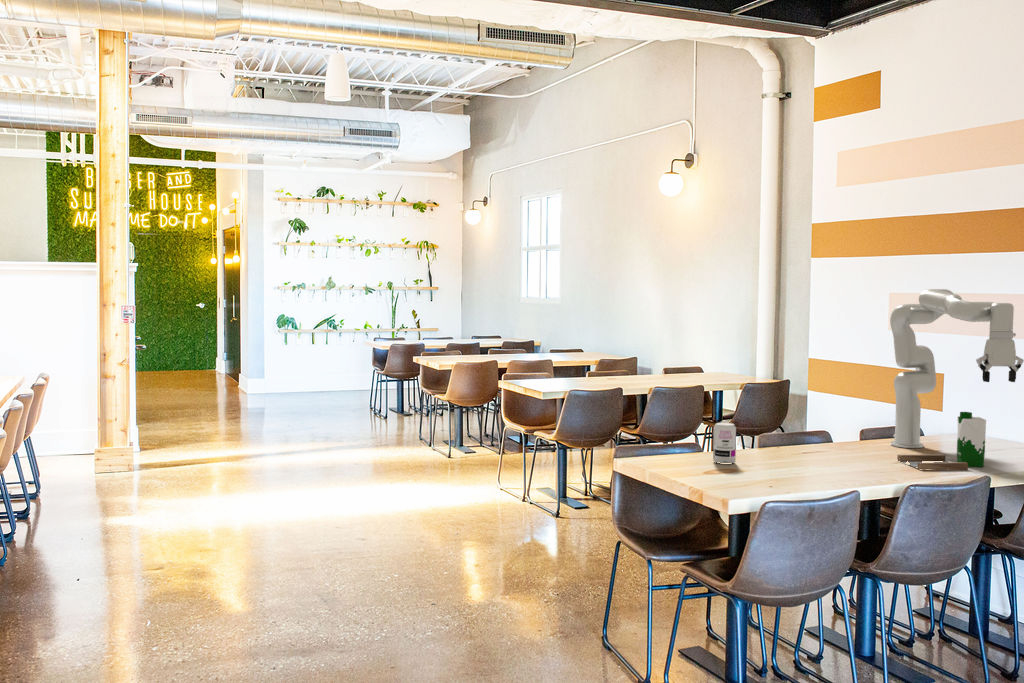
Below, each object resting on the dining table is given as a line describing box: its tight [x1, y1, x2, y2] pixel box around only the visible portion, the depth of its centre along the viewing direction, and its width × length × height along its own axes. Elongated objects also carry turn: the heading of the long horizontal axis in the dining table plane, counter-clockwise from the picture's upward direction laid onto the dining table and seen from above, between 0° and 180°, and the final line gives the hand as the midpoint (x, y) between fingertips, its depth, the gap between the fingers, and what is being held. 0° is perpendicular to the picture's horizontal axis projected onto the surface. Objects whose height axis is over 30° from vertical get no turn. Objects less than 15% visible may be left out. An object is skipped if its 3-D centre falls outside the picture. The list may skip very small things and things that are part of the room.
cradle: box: [896, 453, 969, 471], centre depth 321 cm, size 17×18×2 cm
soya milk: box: [956, 411, 987, 468], centre depth 322 cm, size 9×9×20 cm
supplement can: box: [712, 422, 737, 463], centre depth 325 cm, size 8×8×15 cm
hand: (999, 381), depth 319 cm, fingers open, 9 cm apart
